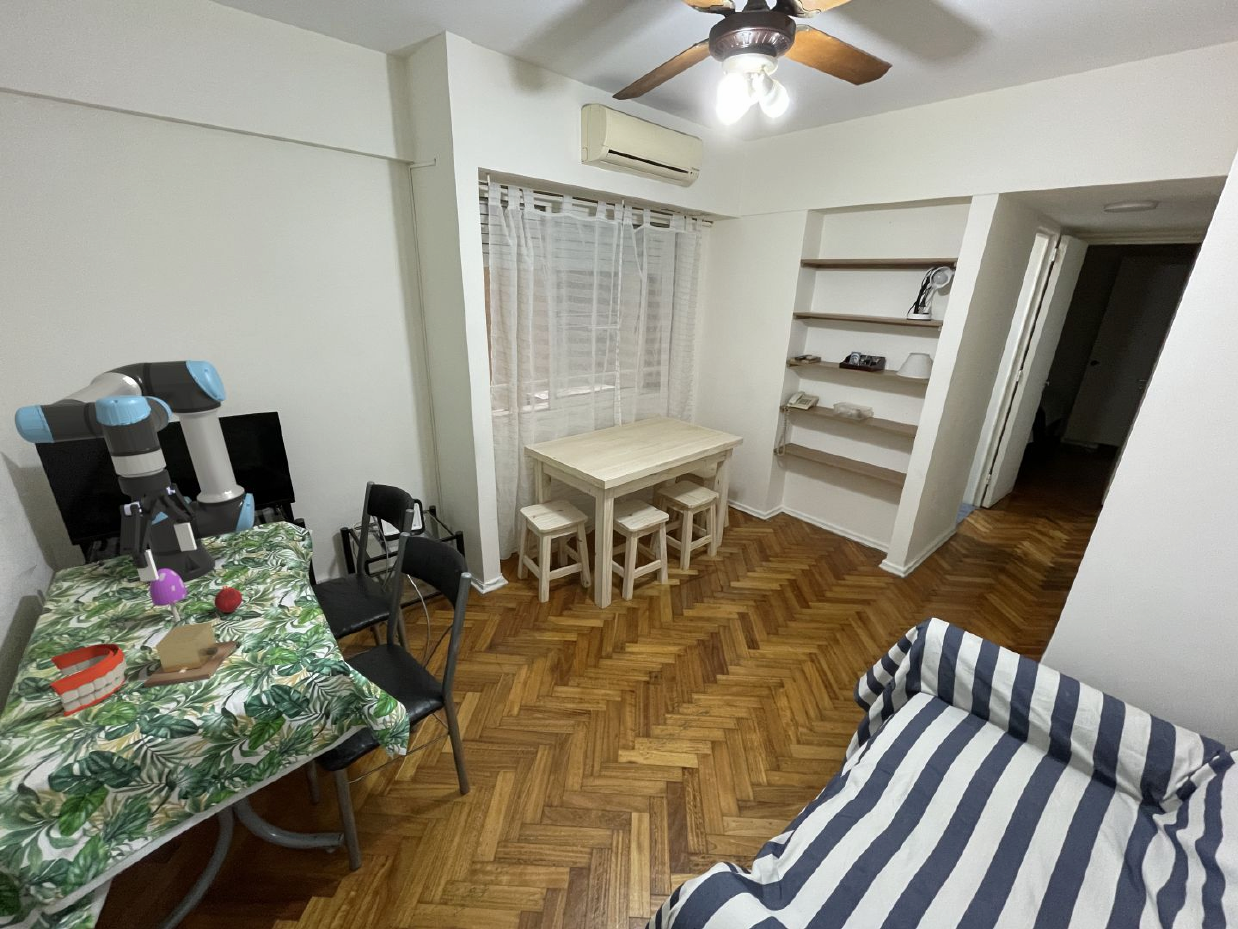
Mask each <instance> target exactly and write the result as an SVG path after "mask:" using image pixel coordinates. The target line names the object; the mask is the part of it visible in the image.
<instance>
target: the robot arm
mask: <svg viewBox="0 0 1238 929" xmlns="http://www.w3.org/2000/svg"><path fill="white" fill-rule="evenodd" d="M226 397H227V395H226V391H225V386H224V383H223V381H222V378H221V376H220V374H219V372H218V370H217V369H216V367H215V366H214V365H213V364H212V363H211V362H208V361H206V360H191V359H190V360H189V359H188V360H173V361H170V360H168V361H154V362H153V361H152V362H147V361H146V362H143V361H142V362H137V363H132V364H126V365H125V364H124V365H123V366H120V367H115V368H112V369H110V370H107V371H105V372H103V373H101V374H98V375H96V376H95V377H94V378H92V380H91V381H90V384H89V385H87V386H85V387H83V388H81V389H79V390H77V391H75V392H72V393H71V394H68V395H67V396H65V397H63V398H61V399H59V400H57V401H55V402H53V403H50V404H36V405H27V406H22V407H20V408H18V409H17V410H16V412H15V413H14V426H15V427H16V430H17V432H18V434H19V436H20V437H21V438H22V439H23V440H24V441H27V442H28V443H32V444H42V443H51V444H54V443H60V442H68V441H69V442H70V441H79V440H91V439H103V438H104V440H105V442H106V446H107V448H108V449H107V450H108V452H109V455H110V457H111V461H112V463H113V467H114V471H115V473H116V474H117V475H119V476H118V477H117V480H118V483H119V486H120V489H121V492H122V493H123V494H124V495H127V496H129V497H130V499H131V503H129V504H120V506H119V511H120V515H121V521H120V539H119V540H120V541H119V543H120V544H119V554H120V555H121V556H131V557H132V561H133V564H134V567H135V568H136V570H137V572H138V576H139V580H140V582H151V581H152V580H157V579H159V576H158V573H157V571H158V570H160V569H170V570H173V571H174V572H175V573H177V574H178V575H179V576H180V578H181V579H182V581H183V583H184V582H188V581H191V580H194V579H198V578H199V577H201V576H204V575H207V573H210V572H211V571H212V570H213V569H214V568H215V567H216V562H215V557H213V555H212V554H211V553H210V552H209V550H208V549H207V548H206V546H204V544H203V541H202V539H206V538H211V537H218V536H223V535H230V534H237V533H239V532H244V531H248V530H251V529H252V527H253V526H254V522H255V500H254V496H253V493H248V492H247V493H246V492H245V488H244V487H242V486H241V485H238V484H237V482H236V478H235V474H234V470H233V467H232V463H231V461H230V455H229V453H228V449H227V444H226V441H225V437H224V435H223V430H222V427H221V423H220V420H219V416H218V411H219V410H220V409H221V408H222V402H223V401H225V400H226ZM172 414H173V415H175V416H176V417H178V419H179V423H180V425H181V428H182V432H183V435H184V438H185V442H186V446H187V449H188V451H189V456H190V458H191V462H192V465H193V468H194V471H195V474H196V478H197V481H198V484H199V487H200V491H201V492H200V493H198V495H197V496H196V500H193V501H192V499H191V498H190V497H189V496H183V495H182V493H181V492H180V490H179V487H178V485H177V483H176V482H173V483H172V482H171V478H170V475H169V471H168V469H166V468H165V467H166V466H167V464H166V461H165V457H164V454H163V453H164V452H163V450H162V447H161V445H160V441H159V437H158V432H159V431H162V430H163V429H165V428H166V427H167V426H168V425H169V423H170V421H171V420H172ZM148 545H149V546H148ZM147 547H149V548H150V549H147ZM210 570H211V571H210Z"/></svg>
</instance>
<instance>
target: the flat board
mask: <svg viewBox="0 0 1238 929" xmlns="http://www.w3.org/2000/svg"><path fill="white" fill-rule="evenodd" d="M216 643H217V647H218V652H217V653H216V654H215V655H211V656H210V658H209V659H208V660H207V661H206V662H205V664H204V665H203V666H202V667H200V668H193V669H186V670H179V671H172V672H166V673H164V670H163V667H162V664H161V665H160V666H158V668H157V669H156V670H155V671H154V672H153V673H152V674H151V675H150V676H149V677H148V678H147V679H146V680H145V681H144V682H143V685H144V689H148V688H153V687H154V688H155V687H162V686H168V685H169V686H170V685H176V684H182V683H189V682H196V681H203V680H209V679H211V678H212V676H214V674H215V673H216V672H217V671H218V669H219V668H220V666H221V665H222V664H223V663H224V661H225V660H226V659H227V658H228V656H229V655H230V654H231V652H232V651H233V650H234V649H235V648H236V646H237V641H236V640H228V641H220V642H216Z"/></svg>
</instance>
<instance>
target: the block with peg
mask: <svg viewBox="0 0 1238 929" xmlns="http://www.w3.org/2000/svg"><path fill="white" fill-rule="evenodd" d="M217 643H218V642H217V640H216V637H215V634H214V630H213V625H212V623H211V621H209V622H202V623H201V622H200V623H192V624H184V625H178V626H174V627H173V628H172V629H171V630H170V631H169V632H168V633H167V634H166V635H165V636H164V637H163V638H161V640H160V641H159V642H157V644H155V648H156V651H157V654H158V657H159V660H160V663H161V665H162V667H163V670H164V673H166V672H172V671H179V670H186V669H193V668H200V667H202V666H203V665H204V664H205V662H206V661H207V660H208V659H209V658H210V656H211V655H215V654H216V653H217V652H218V647H217Z"/></svg>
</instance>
